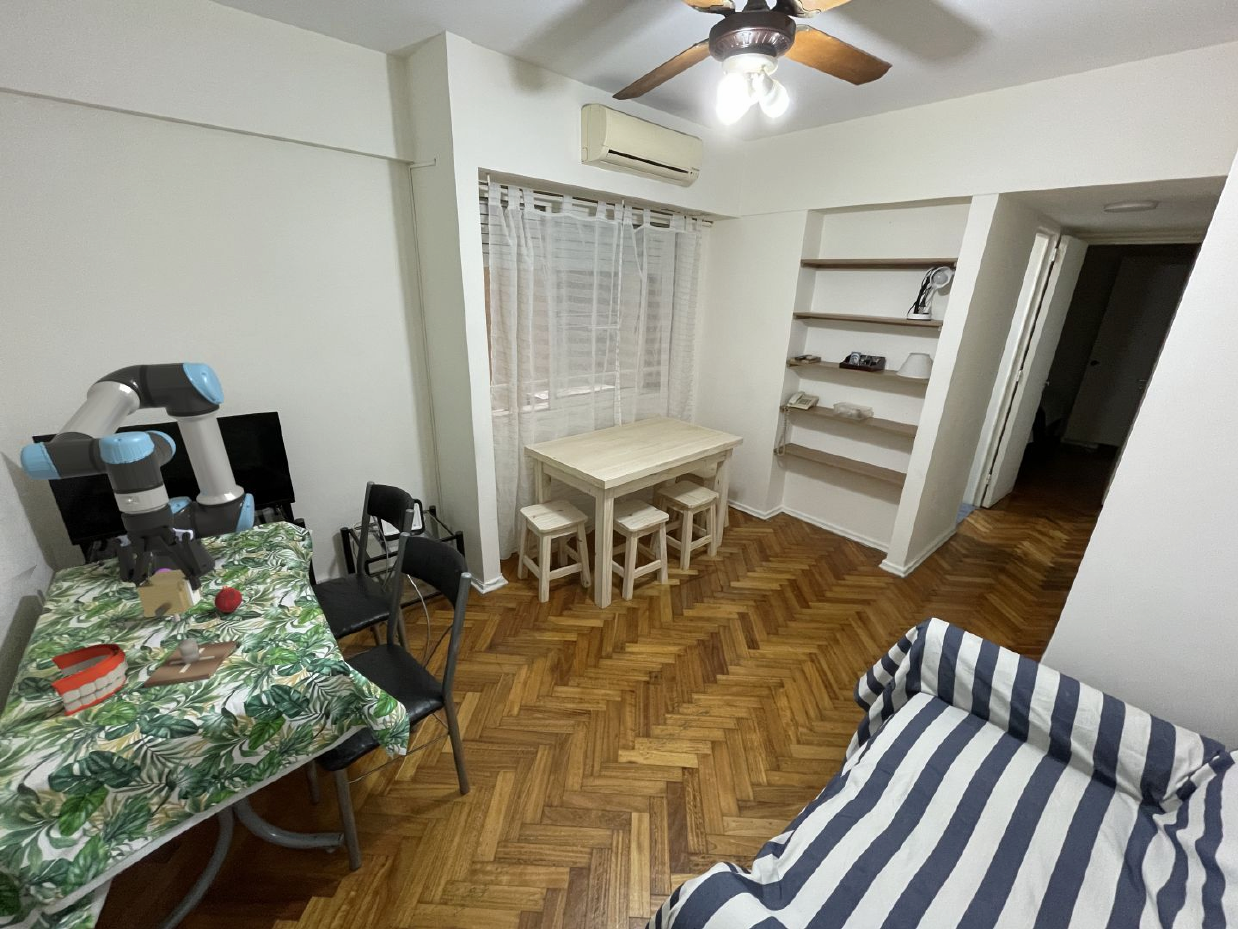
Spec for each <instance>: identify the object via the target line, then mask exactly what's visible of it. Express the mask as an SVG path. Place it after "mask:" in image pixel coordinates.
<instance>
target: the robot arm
mask: <svg viewBox="0 0 1238 929" xmlns="http://www.w3.org/2000/svg"><path fill="white" fill-rule="evenodd" d="M224 394H225V393H224V392H223V387H222V383H221V382H220V379H219V377H218V375H217V374H216V372H215V371H214V369H213V368H212V367H211V366H210V365H208V364H206V363H204V362H187V361H186V362H171V363H157V364H156V363H155V364H154V363H153V364H134V365H129V366H126V367H121V368H118V369H117V370H114V371H112V372H110V373H108V374H106V375H104V376H102V377H101V378H99V379H97V381H95V382H94V383H93V384H92V385H91V386H90V387H89V388H88V390H87V392H86V400H85V402H84V403H82V405H81V406H80V407H79V408H78V409H77V410H76V412H75V413H74V414H73V415H72V416H71V417H70V418H69V420H68V421H67V422H66V423H65V424H64V426H63V427H62V428H61V429H60V430H59V431H58V433H57V434H56V435H55V436H54V437H53V438H52V439H51V441H49V442H47V441H45V442H43V441H40V442H38V443H31V444H30V443H29V444H28V445H25V446H24V447H22V449H21V452H20V455H19V456H20V457H19V458H20V465H21V467H22V469H23V471H24V473H25V474H26V475H27V476H28V477H29V478H31V479H33V480H37V481H45V480H47V481H48V480H62V479H69V478H75V477H76V478H77V477H85V476H94V475H101V474H103V475H104V474H107V476H108V479H109V482H110V485H111V487H112V492H113V494H114V498H115V500H116V503H117V507H118V510H119V511H120V512H122V513H121V514H120V516H121V519H122V522H123V526H124V528H125V530H126V531H127V534H121V535H118V536H117V537H115V538H113V539H112V540H111V544H112V546H113V548H114V549H115V551H116V556H117V561H118V562H117V563H118V567H119V568H118V569H119V574H120V580H121V583H133V584H134V585H135V587H136V589H137V587H139V586H140V585H141V584H143V583H144V582H145V581H147V580H148V579H149V578H151V577H152V576H153V575H154V574H155V572H157V571H158V570H160V569H164V568H165V569H170V570H181V571H182V573H183V574H184V575H185V576H186V577H185V578H184V579H183V583H184V587H185V590H186V594H187V597H188V600H189V604H190V606H191V607H194V606H196V605H197V604H198V603H199V602H200V601H201V600H202V597H200V594H199V590H198V589H199V588H200V587H202V583H201V579H200V577H201V576H204V575H207V573H210V572H211V571H212V570H213V569H214V568H215V567H216V562H215V557H213V555H212V554H211V553H210V552H209V550H208V549H207V548H206V546H204V544H203V541H202V539H206V538H213V537H218V536H223V535H230V534H237V533H240V532H246V531H247V532H248V531H249V530H251V529H252V528H253V526H254V522H255V501H254V496H253V494H251V493H245V491H244V487H242V486H240V485H238V484H236V481H235V477H234V474H233V470H232V467H231V464H230V460H229V456H228V454H227V450H226V447H225V444H224V440H223V437H222V436H223V435H222V434H221V433H222V432H221V429H220V426H219V422H218V419H217V416H216V414H217V413H218V412H219V410H220V409H221V407H220V405H221V404H222V403H224V401H225V395H224ZM159 408H164V409H165V410H166V411H165V412H166V414H167V416H168V417H170V418H173V419H175V420H176V423H177V425H178V428H179V431H180V435H181V437H182V439H183V443H184V446H185V449H186V452H187V454H188V457H189V458H188V459H189V461H190V464H191V468H192V469H193V472H194V475H195V478H196V481H197V485H198V488H199V490H200V491H199V492H200V493H198V495H197V496H196V501H194V500H193V501H192V499H191V498H190V497H189V496H177V497H171V498H169V496H168V493H167V489H166V486H165V483H164V479H163V477H162V472H161V467H162V466H164V465H165V464H167V463H169V462H170V461H171V459H173V456H174V455H175V453H176V449H177V448H176V444H175V441H174V439H173V438H172V437H171V436H170V435H168V434H167V433H164V432H162V431H157V430H147V431H127V432H119V433H116V432H117V431H118V429H119V427H120V426H121V425H122V423H123V421H124V420H125V419H126V417H127V416H131V415H133V414H134V413H135V412H136V411H138V410H144V409H159ZM132 543H133V544H134V545H135V546H136V549H135V555H136V558H135V560H134V553H133V546H132ZM151 555H152V558H151ZM150 562H151V565H150ZM149 566H151V567H149ZM149 568H150V573H149ZM210 570H211V571H210ZM148 573H149V574H150V575H149V574H148Z"/></svg>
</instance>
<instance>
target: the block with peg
mask: <svg viewBox="0 0 1238 929" xmlns="http://www.w3.org/2000/svg"><path fill="white" fill-rule="evenodd" d="M185 577H186V576H185V575H184V574H183V573H182V571H181V570H171V571H161V572H157V573H156V574H155V575H153V576H152V577H151V576H150V577H148V578H149V579H148V578H147V579H148V580H147V581H145V582H144V583H143V584H141V585H140V586H139V587H137V588H136V591H137V594H138V598H139V600H140V604H141V607H142V610H143V613H144V615H145V618H151V617H160V616H161V617H162V616H169V615H173V614H179V615H180V614H185V613H186V612H187V611H188V610H189V609H191V608H192V606H190V604H189V600H188V597H187V594H186V590H185V587H184V583H183V579H184V578H185ZM201 587H202V586H201ZM201 587H200V588H199V589H198V590H199V594H200V597H201V598H202V597H203V591H202V588H201Z"/></svg>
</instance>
